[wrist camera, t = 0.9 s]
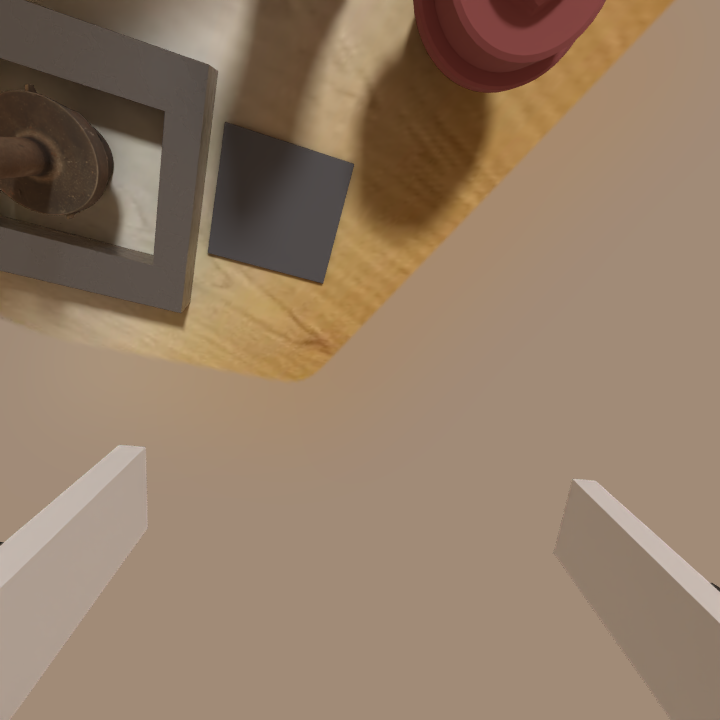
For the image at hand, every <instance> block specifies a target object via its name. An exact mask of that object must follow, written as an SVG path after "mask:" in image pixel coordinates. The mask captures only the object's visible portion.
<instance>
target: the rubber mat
mask: <svg viewBox="0 0 720 720" xmlns="http://www.w3.org/2000/svg"><path fill="white" fill-rule="evenodd" d="M353 167H354V164H353V163H349V162H346V161H343V160H340V159H337V158H334V157H331V156H328V155H325V154H322V153H319V152H316V151H313V150H310V149H307V148H304V147H300V146H297V145H294V144H291V143H288V142H285V141H282V140H279V139H276V138H273V137H270V136H267V135H264V134H261V133H258V132H254V131H251V130H248V129H245V128H242V127H239V126H236V125H233V124H230V123H227V122H225V127H224V134H223V142H222V149H221V157H220V164H219V172H218V179H217V187H216V194H215V202H214V209H213V217H212V224H211V232H210V239H209V247H208V253H210V254H214V255H218V256H222V257H225V258H229V259H233V260H237V261H240V262H244V263H248V264H252V265H255V266H259V267H263V268H267V269H271V270H274V271H278V272H282V273H286V274H289V275H293V276H297V277H301V278H304V279H308V280H312V281H316V282H320V283H323V282H324V278H325V274H326V270H327V266H328V263H329V259H330V255H331V251H332V247H333V243H334V240H335V236H336V232H337V228H338V224H339V221H340V217H341V213H342V209H343V205H344V201H345V198H346V194H347V190H348V186H349V182H350V179H351V175H352V171H353Z"/></svg>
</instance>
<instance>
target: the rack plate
mask: <svg viewBox="0 0 720 720" xmlns="http://www.w3.org/2000/svg"><path fill="white" fill-rule="evenodd" d="M0 58H1V59H5V60H8V61H11V62H14V63H17V64H20V65H23V66H26V67H29V68H33V69H36V70H39V71H42V72H45V73H48V74H51V75H54V76H57V77H60V78H64V79H67V80H70V81H73V82H76V83H79V84H82V85H85V86H88V87H91V88H95V89H98V90H101V91H104V92H107V93H110V94H113V95H116V96H119V97H123V98H126V99H129V100H132V101H135V102H138V103H141V104H144V105H147V106H150V107H154V108H157V109H160V110H163V111H165V117H164V129H163V142H162V155H161V168H160V181H159V194H158V207H157V220H156V233H155V246H154V255H150V254H147V253H143V252H139V251H135V250H131V249H127V248H123V247H119V246H116V245H112V244H108V243H104V242H100V241H96V240H92V239H88V238H85V237H81V236H77V235H73V234H69V233H65V232H61V231H57V230H53V229H50V228H46V227H42V226H38V225H34V224H30V223H26V222H22V221H19V220H15V219H11V218H7V217H3V216H0V271H4V272H9V273H13V274H17V275H21V276H26V277H30V278H34V279H38V280H43V281H47V282H51V283H55V284H60V285H64V286H68V287H72V288H77V289H81V290H85V291H89V292H94V293H98V294H102V295H106V296H111V297H115V298H119V299H123V300H128V301H132V302H136V303H140V304H145V305H149V306H153V307H157V308H162V309H166V310H170V311H174V312H179V313H182V312H183V310H184V309H185V308H186V307H187V306H188V305H189V304H190V298H191V290H192V282H193V273H194V265H195V257H196V249H197V240H198V232H199V224H200V216H201V207H202V199H203V191H204V183H205V174H206V166H207V158H208V150H209V141H210V133H211V125H212V117H213V108H214V100H215V92H216V84H217V75H218V71H217V70H216V69H214V68H213V67H211V66H210V65H208V64H205V63H202V62H200V61H197V60H194V59H191V58H188V57H185V56H182V55H180V54H177V53H174V52H171V51H168V50H165V49H162V48H160V47H157V46H154V45H151V44H148V43H145V42H142V41H139V40H137V39H134V38H131V37H128V36H125V35H122V34H119V33H117V32H114V31H111V30H108V29H105V28H102V27H99V26H97V25H94V24H91V23H88V22H85V21H82V20H79V19H77V18H74V17H71V16H68V15H65V14H62V13H59V12H56V11H54V10H51V9H48V8H45V7H42V6H39V5H36V4H34V3H31V2H28V1H25V0H0Z"/></svg>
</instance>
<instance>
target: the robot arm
mask: <svg viewBox="0 0 720 720" xmlns="http://www.w3.org/2000/svg"><path fill="white" fill-rule="evenodd" d="M147 520H148V517H147V477H146V447H140V446H125V445H118V446H117V447H116V448H115V449H114V450H113V451H111V452H110V453H109V454H108V455H107V456H105V457H104V458H103V459H102V460H101V461H100V462H99V463H97V464H96V465H95V466H94V467H93V468H91V469H90V470H89V471H88V472H87V473H85V474H84V475H83V476H82V477H81V478H80V479H78V480H77V481H76V482H75V483H74V484H73V485H71V486H70V487H69V488H68V489H67V490H65V491H64V492H63V493H62V494H61V495H59V496H58V497H57V498H56V499H55V500H54V501H52V502H51V503H50V504H49V505H48V506H47V507H45V508H44V509H43V510H42V511H41V512H39V513H38V514H37V515H36V516H35V517H34V518H32V519H31V520H30V521H29V522H28V523H26V524H25V525H24V526H23V527H22V528H21V529H19V530H18V531H17V532H16V533H15V534H14V535H12V536H11V537H10V538H9V539H8V540H6V541H5V542H0V720H10V719H11V718H12V716H13V715H14V714H15V712H16V711H17V709H18V708H19V707H20V705H21V704H22V703H23V701H24V700H25V698H26V697H27V696H28V694H29V693H30V691H31V690H32V689H33V687H34V686H35V684H36V683H37V682H38V680H39V679H40V677H41V676H42V675H43V673H44V672H45V670H46V669H47V668H48V666H49V664H50V663H51V662H52V661H53V659H54V658H55V656H56V655H57V654H58V652H59V651H60V649H61V648H62V647H63V645H64V644H65V643H66V641H67V640H68V638H69V637H70V635H71V634H72V633H73V631H74V630H75V629H76V627H77V626H78V624H79V623H80V622H81V620H82V619H83V617H84V616H85V615H86V613H87V612H88V610H89V609H90V608H91V606H92V604H93V603H94V602H95V601H96V599H97V598H98V596H99V595H100V594H101V592H102V591H103V589H104V588H105V587H106V585H107V584H108V583H109V581H110V580H111V578H112V577H113V576H114V574H115V573H116V571H117V570H118V569H119V567H120V566H121V564H122V563H123V562H124V560H125V559H126V557H127V556H128V555H129V553H130V552H131V550H132V549H133V548H134V546H135V545H136V543H137V542H138V541H139V539H140V538H141V536H142V535H143V534H144V532H145V531H146V529H147V528H148V521H147ZM554 555H555V556H556V558H557V559H558V560H559V562H560V563H561V565H562V566H563V568H564V569H565V570H566V572H567V573H568V575H569V576H570V577H571V579H572V580H573V582H574V583H575V584H576V586H577V587H578V589H579V590H580V592H581V593H582V594H583V596H584V597H585V599H586V600H587V602H588V603H589V604H590V606H591V607H592V609H593V610H594V612H595V613H596V614H597V616H598V617H599V619H600V620H601V622H602V623H603V624H604V626H605V627H606V629H607V630H608V631H609V633H610V634H611V635H612V637H613V638H614V640H615V641H616V643H617V644H618V646H619V647H620V649H621V650H622V651H623V653H624V654H625V656H626V657H627V658H628V660H629V661H630V663H631V664H632V666H633V667H634V668H635V670H636V671H637V673H638V674H639V675H640V677H641V678H642V680H643V681H644V683H645V684H646V685H647V687H648V688H649V690H650V691H651V693H652V694H653V695H654V697H655V698H656V700H657V701H658V702H659V704H660V705H661V707H662V708H663V709H664V711H665V712H666V714H667V715H668V717H669V718H670V719H671V720H720V588H719V587H718V586H716V585H715V584H713V583H709V582H708V581H707V580H706V579H705V578H704V577H703V576H701V575H700V574H699V573H698V572H697V571H696V570H694V568H692V567H691V566H690V565H689V564H688V563H687V562H686V561H685V560H684V559H682V558H681V557H680V556H679V555H678V554H677V553H676V552H675V551H674V550H672V549H671V548H670V547H669V546H668V545H667V544H666V543H665V542H663V541H662V540H661V539H660V538H659V537H658V536H657V535H655V534H654V533H653V532H652V531H651V530H650V529H649V528H648V527H647V526H646V525H644V524H643V523H642V522H641V521H640V520H639V519H638V518H637V517H636V516H634V515H633V514H632V513H631V512H630V511H629V510H628V509H627V508H625V507H624V506H623V505H622V504H621V503H620V502H619V501H617V499H615V498H614V497H613V496H612V495H611V494H610V493H609V492H608V491H607V490H605V489H604V488H603V487H602V486H601V485H600V484H599V483H598V482H596V481H593V480H580V479H572V482H571V486H570V490H569V494H568V498H567V502H566V506H565V510H564V514H563V518H562V521H561V525H560V529H559V533H558V537H557V541H556V545H555V549H554Z"/></svg>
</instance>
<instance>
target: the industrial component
mask: <svg viewBox="0 0 720 720" xmlns="http://www.w3.org/2000/svg"><path fill="white" fill-rule="evenodd" d="M112 170H113V157H112V153H111V150H110V148H109V146H108V144H107V142H106V140H105V139H104V138H103V136H102V135H101V134H100V133H99V132H98V131H97V130H96V129H94V128H93V127H92V126H91V125H90V124H89V123H88V121H87V120H86V119H85V118H84V117H83V116H82V115H81V114H80V113H79V112H77V111H73V110H71V109H69V108H67V107H65V106H63V105H61V104H59V103H57V102H55V101H54V100H52V99H49V98H48V97H45V96H43V95H40V94H37V92H36V90H35V88H34V85H30V84H27V85H25V91H21V90H11V91H5V92H2V93H0V189H1V190H2V191H3V192H4V193H5V194H7V195H8V196H9V197H10V198H11V199H13V200H14V201H16V202H17V203H19V204H21V205H22V206H24V207H26V208H28V209H31V210H33V211H36V212H39V213H43V214H48V215H66V217H67V219H70V218H73V217H74V214H75V213H78V212H80V211H81V210H84V209H86V208H88V207H90V206H92V205H93V204H94V203H96V202H97V201H98V199H99V198H100V197H101V196H102V194H103V192H104V190H105V188H106V185H107V181H108V179H109V178H110V176H111V174H112ZM60 224H61V223H60Z"/></svg>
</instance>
